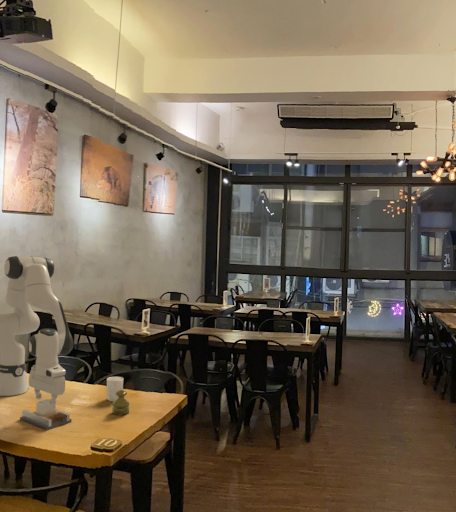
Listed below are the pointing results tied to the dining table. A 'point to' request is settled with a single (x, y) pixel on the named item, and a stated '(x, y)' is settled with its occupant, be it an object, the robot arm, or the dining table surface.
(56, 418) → the rail plate
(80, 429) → the dining table surface
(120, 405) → the olive green tiered piece
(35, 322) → the robot arm
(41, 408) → the block
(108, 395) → the white cup
